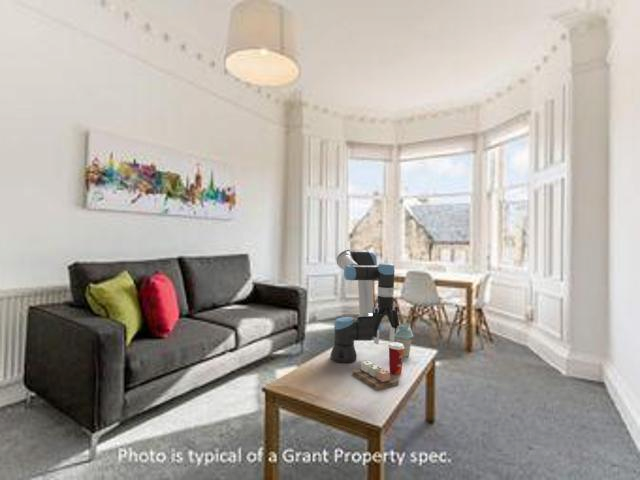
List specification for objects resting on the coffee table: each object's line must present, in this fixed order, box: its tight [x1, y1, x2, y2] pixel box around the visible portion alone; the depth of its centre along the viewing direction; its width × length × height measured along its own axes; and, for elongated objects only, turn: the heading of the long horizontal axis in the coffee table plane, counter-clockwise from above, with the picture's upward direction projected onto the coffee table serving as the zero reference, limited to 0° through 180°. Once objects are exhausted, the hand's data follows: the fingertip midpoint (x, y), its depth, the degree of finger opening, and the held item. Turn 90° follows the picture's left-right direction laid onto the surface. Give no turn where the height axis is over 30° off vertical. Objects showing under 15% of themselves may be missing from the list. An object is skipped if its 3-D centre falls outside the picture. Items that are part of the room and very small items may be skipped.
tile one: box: [360, 360, 375, 374], centre depth 180 cm, size 4×4×4 cm
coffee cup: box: [388, 341, 404, 376], centre depth 183 cm, size 8×8×15 cm
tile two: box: [368, 364, 382, 378], centre depth 174 cm, size 4×4×4 cm
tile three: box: [376, 368, 391, 383], centre depth 169 cm, size 4×4×4 cm
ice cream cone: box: [395, 322, 414, 358], centre depth 210 cm, size 10×11×20 cm
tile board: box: [352, 368, 400, 391], centre depth 174 cm, size 20×13×2 cm, turn 30°
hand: (384, 342), depth 169 cm, fingers open, 9 cm apart
